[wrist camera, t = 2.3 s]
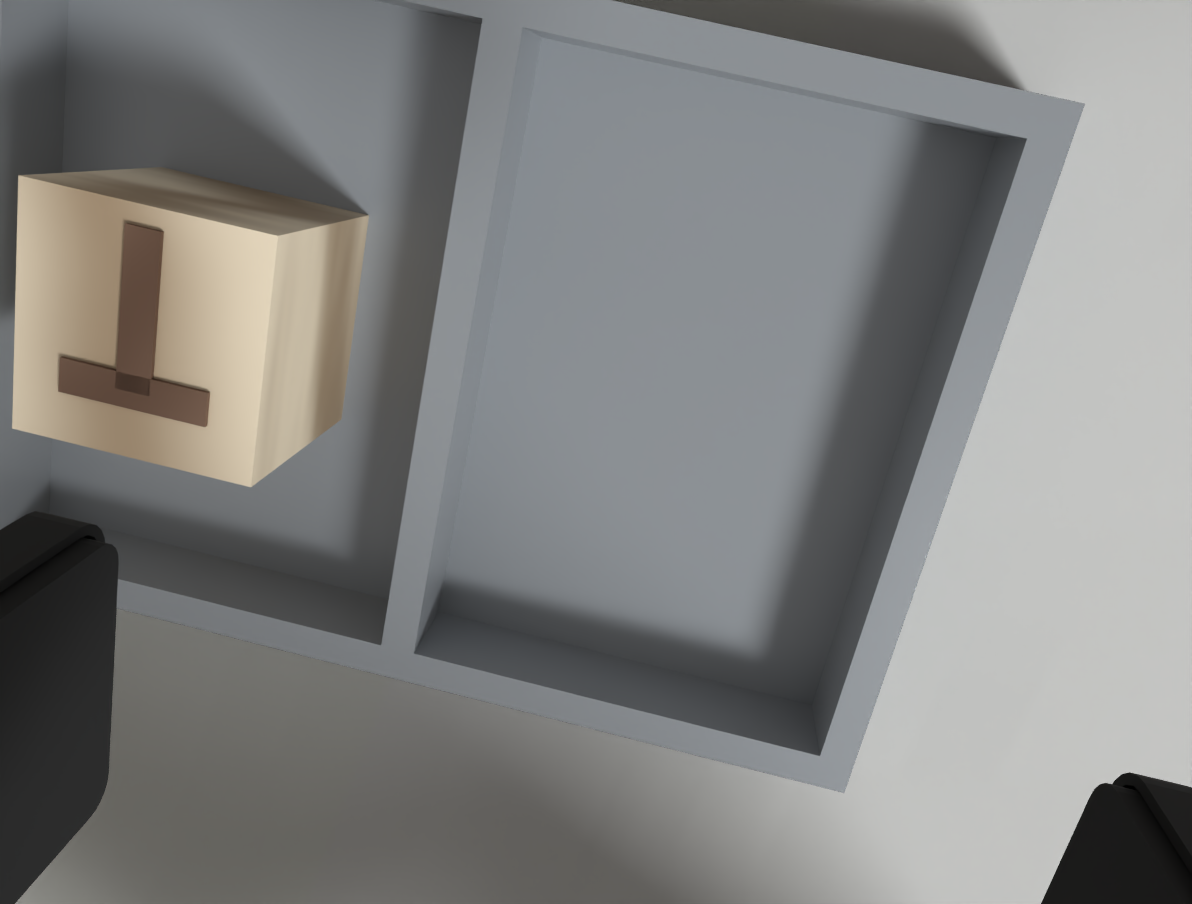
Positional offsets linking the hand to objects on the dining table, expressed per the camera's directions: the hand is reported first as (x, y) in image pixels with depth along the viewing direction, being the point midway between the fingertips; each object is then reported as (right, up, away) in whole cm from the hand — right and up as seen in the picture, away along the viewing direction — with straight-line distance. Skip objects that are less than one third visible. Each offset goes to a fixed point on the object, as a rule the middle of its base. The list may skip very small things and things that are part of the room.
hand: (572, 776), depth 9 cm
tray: (-3, +6, +15) cm, 16 cm away
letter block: (-8, +7, +15) cm, 18 cm away
